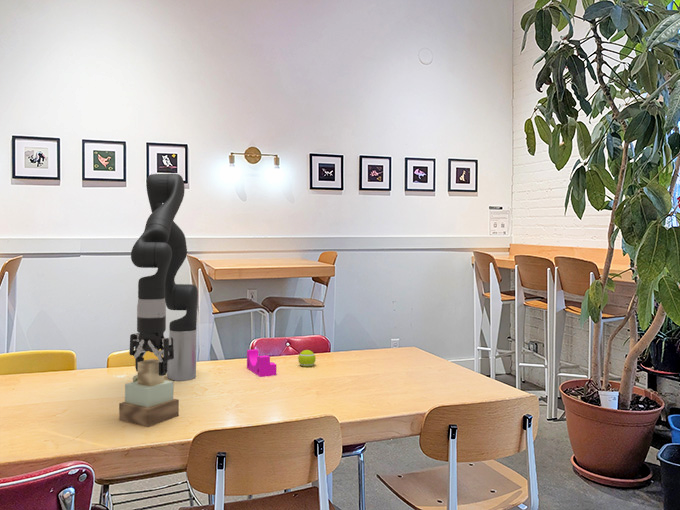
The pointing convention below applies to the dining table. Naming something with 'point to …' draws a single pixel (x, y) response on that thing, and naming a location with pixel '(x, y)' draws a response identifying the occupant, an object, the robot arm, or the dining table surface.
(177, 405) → the tower base
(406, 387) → the dining table surface
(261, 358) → the toy block
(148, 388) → the pale green square block
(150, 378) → the oak block
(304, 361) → the tennis ball
